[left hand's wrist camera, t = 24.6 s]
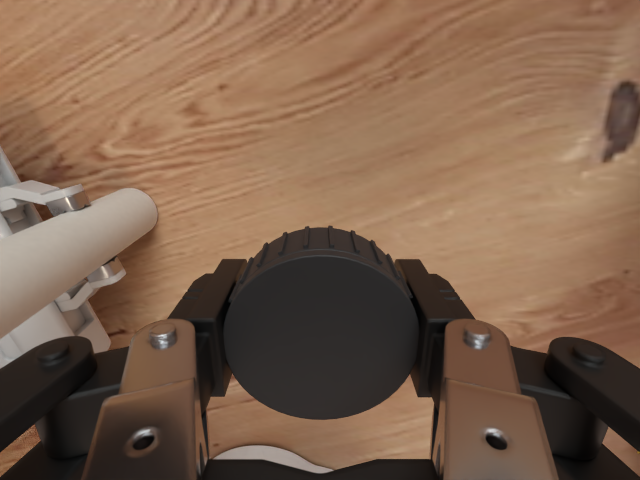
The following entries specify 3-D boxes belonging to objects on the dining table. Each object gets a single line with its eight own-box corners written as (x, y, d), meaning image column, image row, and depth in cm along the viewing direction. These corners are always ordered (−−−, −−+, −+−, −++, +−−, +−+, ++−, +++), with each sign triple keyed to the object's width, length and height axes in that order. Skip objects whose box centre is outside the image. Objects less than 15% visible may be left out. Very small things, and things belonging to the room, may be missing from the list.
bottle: (133, 178, 29) (-124, 276, 12) (168, 216, 30) (-25, 355, 14) (99, 205, 30) (-184, 333, 13) (134, 242, 31) (-86, 402, 14)
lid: (378, 384, 12) (389, 436, 10) (225, 356, 11) (207, 405, 9) (429, 245, 10) (453, 277, 8) (250, 206, 9) (234, 231, 8)
